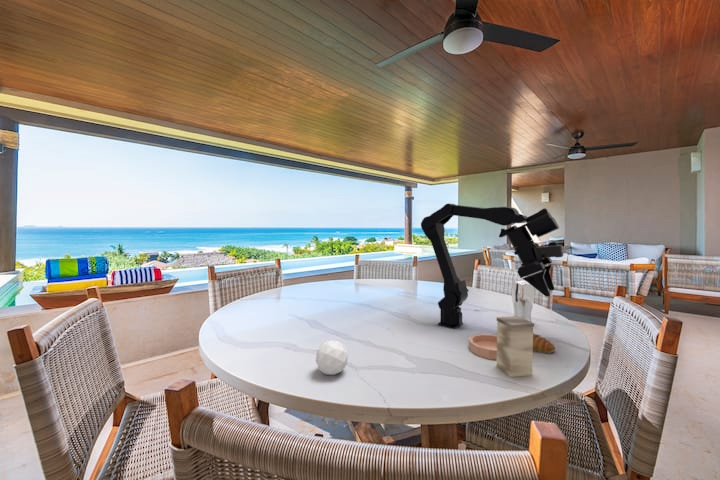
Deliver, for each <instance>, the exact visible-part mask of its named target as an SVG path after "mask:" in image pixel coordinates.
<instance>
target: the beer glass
mask: <svg viewBox="0 0 720 480" xmlns="http://www.w3.org/2000/svg"><path fill="white" fill-rule="evenodd" d="M511 287H512V288H511V301H512V308H513V316H519V317H521V318H523V319H525V320H528V321H530V322H532V311H533V308H534V303H535V302H534V301H535V287H533V286H532V285H531V284H529V283H528V282H527V281H525V280H513V281H512V285H511ZM532 323H533V322H532Z"/></svg>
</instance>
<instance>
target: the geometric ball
mask: <svg viewBox="0 0 720 480" xmlns="http://www.w3.org/2000/svg"><path fill="white" fill-rule="evenodd" d="M348 358H349V354H348V351H347V348H346V346H345V345H344V344H342V343H341V342H340V341H337V340H333V339H332V340H331V339H330V340H328V341H326V342H324V343H322V344H320V346H319V348H318V349H317V350H316V354H315V362H316V364H317V368H318V369H319V370H320V371H321V373H323V374H324V375H328V376H335V375H338V374H339V373H341V372H343V370H344V369H345V368H346V367H347V365H348Z"/></svg>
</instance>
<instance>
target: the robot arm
mask: <svg viewBox="0 0 720 480" xmlns="http://www.w3.org/2000/svg"><path fill="white" fill-rule="evenodd" d="M454 216H457V217H462V218H463V217H464V218H472V219H481V220H486V221H488V222H491V223H493V224H497V225H501V226H506V227H507V226H511V227H508V228H507V229H506V228H501V229H500V232H499V234H498V237H499V238H504V237H506V238H507V239H508V240H509V243H510V244H511V246H512V248H513V250H514V252H513V253H514V255H515V256H517V257H518V259H519V261H520V262H521V264H520V266H519V267H518V269H517V275H518V277H519V278H520V279H522V281H527V282H528V283H529V284H531V285H532V286H533V287H534V289H535V290H537V291H539V292H540V293H541V294H542V295H544V297H546V298H547V297H550V296H551V294H550V293H551V292H550V291H554V290H555V286H554V282H553V279H552V275H551V269H552V266H553V260H552V259H551V258H563V256H564V250H563V249H564V248H563V244H558V242H557V241H550V242H548V245H544V246H540V245H539V243H537V242H535V241H534V240H533V238H532V237H534V236H536V237H538V238H541V237H542V236H545V235H548V234H549V233H552V232H554V231H557V230H559V229H560V226H559V224H558V222H557V220H556V219H555V218H554V217H553V216H552V214H551V213H550V211H548V209H547V208H542V209H541V210H539V211H538V212H535V213H533V214H532V215H530V216H527V215H523V214H520V212H519V211H518V210H517V208H515V207H512V206H497V207H496V206H494V207H481V206H480V207H477V206H470V205H469V206H468V205H459V204H455V203H446V204H444V206H443V205H442V207H440V208H439V209H437V210H436V211H434V212H432V213H431V214H430V215H429V216H425V217H423V219H422V221H421V222H420V227H421V229H422V231H423V233H424V235H425V237H426V238H427V239H428V240H429V241H430V243H431V246H432V249H433V252H434V255H435V257H436V260H437V264H438V267H439V269H440V273H441V276H442V279H443V290H442V291H443V294H444V295H443V296H444V297H442V298H441V299H440V300H439V301H438V302H437V305H438V307H439V310H440V313H439V315H440V316H439V317H440V321H439V322H438V323H437V324H438V325H439V326H444V327H448V328H451V329H457V328H458V327H460V326H462V325H463V324H464V323H463V312H462V307H460V306H462V305H463V302H465V301H466V300H467V299H468V297H469V294H468V292H469V289H468V287H467V285H466V280H465V279H463V280H461V279H460V278H459V277H458V275H457V273H456V269H455V267H454V264H453V260H452V259H451V255H450V252H449V249H448V246H447V244H446V240H445V231H446V229H445V224H447V223H448V222H449V221H450V220H451V219H452V218H453V217H454ZM515 224H522V225H520V226H517V225H515Z"/></svg>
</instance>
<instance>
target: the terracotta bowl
mask: <svg viewBox="0 0 720 480" xmlns="http://www.w3.org/2000/svg"><path fill="white" fill-rule="evenodd" d="M468 348H469V350H470V352H471V353H473V354H474V355H475V356H477V357H481V358H483V359H488V360H496V361H497V334H496V335H495V334H488V333H487V334H486V333H482V334H481V333H479V334H475V335H474V334H473V335H472V336H470V337H469V338H468Z"/></svg>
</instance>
